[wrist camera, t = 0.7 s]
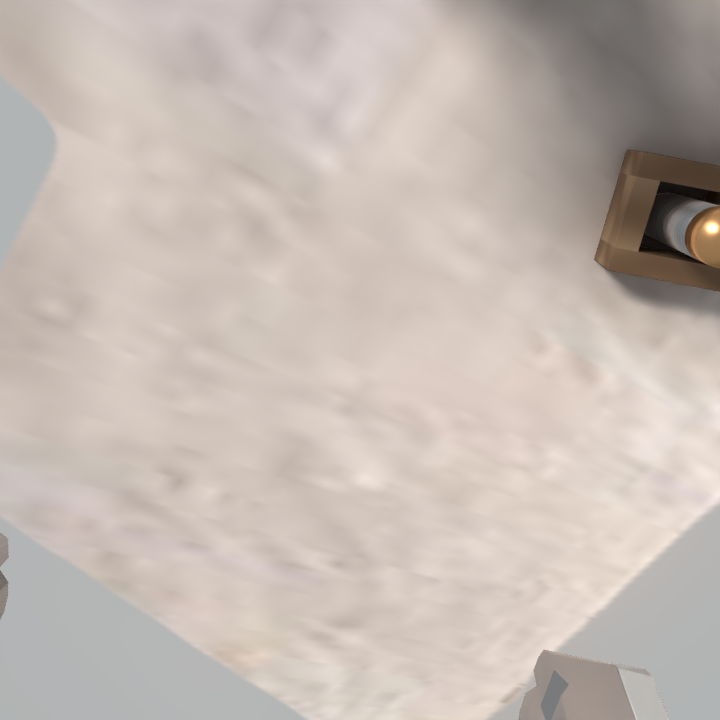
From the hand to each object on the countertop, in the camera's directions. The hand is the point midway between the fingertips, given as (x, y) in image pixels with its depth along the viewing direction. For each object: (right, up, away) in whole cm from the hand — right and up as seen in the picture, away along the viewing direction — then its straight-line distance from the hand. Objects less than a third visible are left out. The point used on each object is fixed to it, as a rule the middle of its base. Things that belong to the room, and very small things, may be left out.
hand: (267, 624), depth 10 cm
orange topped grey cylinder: (+24, +15, +40) cm, 48 cm away
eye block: (+24, +14, +40) cm, 48 cm away
